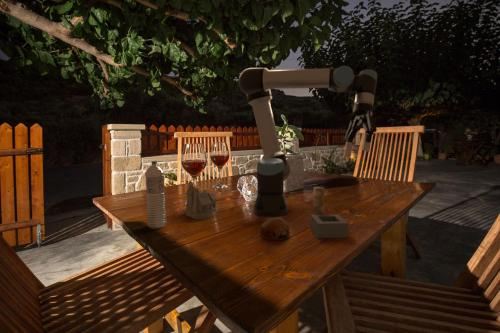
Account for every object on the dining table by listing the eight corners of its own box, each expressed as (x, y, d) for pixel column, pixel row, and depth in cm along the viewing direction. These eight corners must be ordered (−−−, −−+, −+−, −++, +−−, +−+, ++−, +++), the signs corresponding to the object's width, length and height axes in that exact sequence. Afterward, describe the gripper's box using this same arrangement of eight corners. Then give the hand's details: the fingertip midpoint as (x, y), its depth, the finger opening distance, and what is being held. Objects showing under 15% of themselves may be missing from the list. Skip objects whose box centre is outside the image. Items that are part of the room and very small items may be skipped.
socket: (317, 238, 94) (318, 223, 94) (310, 227, 104) (311, 214, 103) (347, 237, 94) (348, 223, 94) (337, 227, 104) (338, 214, 104)
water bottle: (160, 222, 113) (157, 160, 110) (170, 225, 109) (167, 161, 105) (144, 226, 108) (140, 161, 105) (154, 230, 103) (150, 162, 100)
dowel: (314, 225, 107) (314, 189, 105) (311, 221, 111) (312, 187, 109) (324, 225, 107) (325, 188, 105) (321, 221, 111) (322, 186, 109)
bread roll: (287, 241, 101) (286, 219, 103) (292, 240, 91) (291, 215, 93) (260, 242, 100) (259, 219, 103) (262, 240, 91) (261, 215, 93)
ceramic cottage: (194, 220, 114) (194, 183, 113) (180, 212, 128) (180, 179, 127) (228, 216, 123) (228, 182, 122) (211, 209, 136) (211, 178, 135)
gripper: (391, 97, 107) (383, 150, 103) (355, 117, 131) (348, 160, 128) (373, 91, 106) (365, 145, 102) (340, 113, 130) (333, 156, 126)
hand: (355, 154), depth 115 cm, fingers open, 13 cm apart
